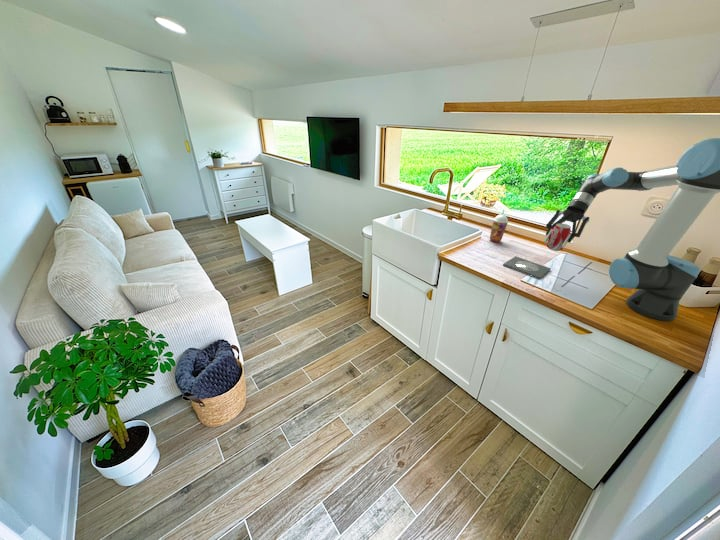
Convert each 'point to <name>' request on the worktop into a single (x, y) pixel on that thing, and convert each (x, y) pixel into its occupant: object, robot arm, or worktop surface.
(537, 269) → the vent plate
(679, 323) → the worktop surface
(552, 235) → the soda can
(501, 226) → the smoothie
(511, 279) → the worktop surface
